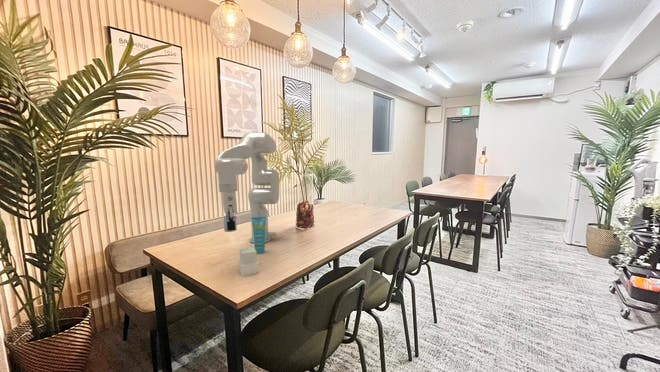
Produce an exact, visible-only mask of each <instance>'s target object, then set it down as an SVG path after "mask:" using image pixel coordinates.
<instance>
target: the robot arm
mask: <svg viewBox="0 0 660 372" xmlns="http://www.w3.org/2000/svg"><path fill="white" fill-rule="evenodd" d="M237 143H238V144H237V145H234V146H232V147H230V148H228V149H225V150H224V151H223V152H221V153H220V154H219V156H218V157H217V158H216V160H215V162H214V170H215V172H216V173H217V176H218V177H217V178H218V180H217V181H218V192H219V193H221V194H222V198H221V199H222V205H223V206H222V207H223V211H224V214H225V216H227V220H228V221H227V230H228V231H230V230H235V220H234V216H235V215H237V214H238V205H237V194H236V193H237V192H238V178H237V177H238V176H240V175H244V174H246V173H247V171H248V168H249V165H248V162H247V159H251V183H252V184H253V185H254V186H263V187H254V188H253V187H252V188H251V189H250V190H248V194H247V197H248V201H249V207H250V218H251V217H266V222H265V243H268V242H270V241H271V240H272V237H274V236H277V232H276V231H275V232H274V231H271V232H270V231H269V217H268V209H267V208H266V206H265V205H277V204H278V203H279V199H280V175H279V172H278V170H276V169H268V161H267V159H266V157H265V156H264V154H274V153H275V152H276V150H277V143H276V141H275V139H274V138H273V137H272V136H271V135H270V134H269V133H266V132H263V131H262V132H258V131H257V132H247V133H244V135H243V136H242V137H241V139H240V140H239V141H238V142H237ZM264 186H267V187H264ZM250 221H251V224H250V225H251V237H250V238H249V242H250V243H251V244H254V234H253V226H252V220H251V219H250Z"/></svg>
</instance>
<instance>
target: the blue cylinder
mask: <svg viewBox="0 0 660 372" xmlns="http://www.w3.org/2000/svg"><path fill="white" fill-rule="evenodd" d="M222 219H223V230H224V231H223V232H225V233H231V232H236V231H237V216H236V215H234V220H235V230H230V231H228V230H227V221H228V220H227V216H226V215H225V216H223V218H222Z"/></svg>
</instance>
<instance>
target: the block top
mask: <svg viewBox="0 0 660 372" xmlns="http://www.w3.org/2000/svg"><path fill="white" fill-rule="evenodd" d="M257 256H258V255H257V252H256V250H255V246H250V247H245V248H239V260H240V261H241V262H242V264H243V265H245V264H250V263H255V262H257V261H258V258H257Z"/></svg>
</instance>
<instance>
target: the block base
mask: <svg viewBox="0 0 660 372" xmlns="http://www.w3.org/2000/svg"><path fill="white" fill-rule="evenodd" d="M238 271H239V272H240V274H241V277H246V276H251V275H255V274H259V271H260V269H259V261H258V260H257V262H255V263H250V264H245V265H243V264H242V262H241V261H240V259H238Z"/></svg>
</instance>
